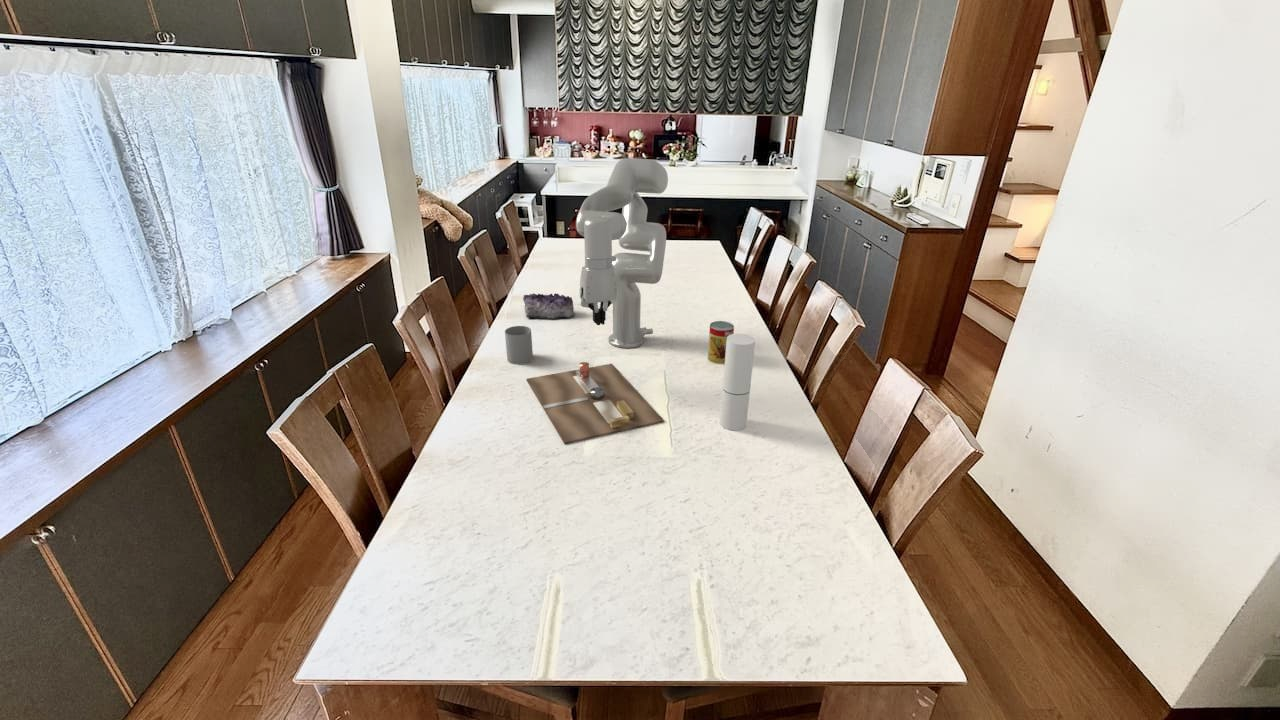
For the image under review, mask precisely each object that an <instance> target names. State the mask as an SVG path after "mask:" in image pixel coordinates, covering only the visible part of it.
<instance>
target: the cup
mask: <svg viewBox="0 0 1280 720" xmlns="http://www.w3.org/2000/svg"><path fill="white" fill-rule="evenodd" d="M504 335H505V336H504V337H505V339H504V340H505V347H506V348H505V350H506V359H507V363H510V364H512V365H525V364H528V363H530V362H532V361H533V360H534V355H533V353H534V352H533V340H532V339H533V336H532V329H531V327H528V326H525V325H514V326H510V327H506V329H505V330H504Z"/></svg>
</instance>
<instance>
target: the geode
mask: <svg viewBox="0 0 1280 720" xmlns="http://www.w3.org/2000/svg"><path fill="white" fill-rule="evenodd" d="M522 301H523V303H524V312H525V317H526V318H541V319H547V320H555V319H560V318H565V319H568V320H569V319H572V318H574V317H575V311H574V309H575V307H574V301H573V298H572V296H569V295H568V296H565V295H564V294H561V295H560V294H559V293H556V292H555V293H554V294H553V293H550V294H543V293H538V294H536V293H530V294H524V295H523V298H522Z"/></svg>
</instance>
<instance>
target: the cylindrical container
mask: <svg viewBox="0 0 1280 720" xmlns="http://www.w3.org/2000/svg"><path fill="white" fill-rule="evenodd" d="M755 346H756V338H755V337H753V336H752V335H750V334H747V333H734V334H731V335H729V336H728V337H727V343H726V354H725V364H724V366H723V367H724V368H723V379H722V380H723V381H722V389H721V392H722V393H721V402H720V414H719V415H720V416H719V426H721V427H722V428H723V429H726V430H728V431H741V430H743V429H745V428H746V427H747V421H748V413H749V412H748V411H749V401H750V392H751V385H752V384H751V382H752V375H753V367H754V366H753V365H754V357H755Z"/></svg>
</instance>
